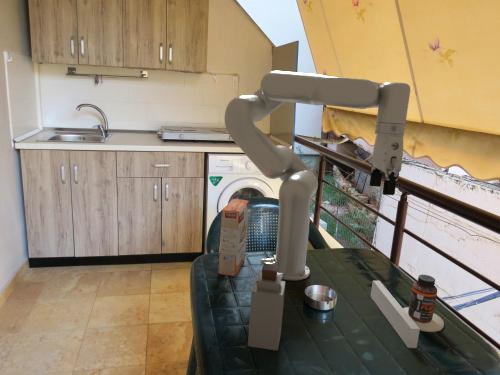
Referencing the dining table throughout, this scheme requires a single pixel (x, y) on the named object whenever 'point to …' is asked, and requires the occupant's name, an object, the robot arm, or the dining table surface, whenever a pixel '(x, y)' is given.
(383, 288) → the low wall
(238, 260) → the cracker box
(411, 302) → the supplement bottle
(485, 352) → the dining table surface
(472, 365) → the dining table surface
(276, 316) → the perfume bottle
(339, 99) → the robot arm
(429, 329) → the resting pad
